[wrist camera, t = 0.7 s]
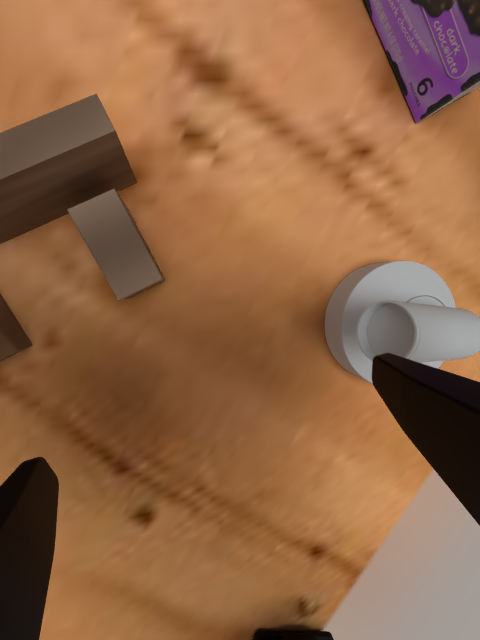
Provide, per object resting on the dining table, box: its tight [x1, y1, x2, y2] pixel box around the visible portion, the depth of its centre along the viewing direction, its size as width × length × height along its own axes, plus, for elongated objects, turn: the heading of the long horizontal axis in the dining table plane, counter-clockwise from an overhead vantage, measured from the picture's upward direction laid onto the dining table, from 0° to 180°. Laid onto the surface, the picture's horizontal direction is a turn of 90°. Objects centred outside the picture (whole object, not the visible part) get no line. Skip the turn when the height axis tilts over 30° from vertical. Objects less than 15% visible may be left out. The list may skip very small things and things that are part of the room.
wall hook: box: [324, 261, 480, 384], centre depth 20 cm, size 9×10×10 cm
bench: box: [0, 94, 165, 361], centre depth 16 cm, size 8×14×7 cm, turn 116°
